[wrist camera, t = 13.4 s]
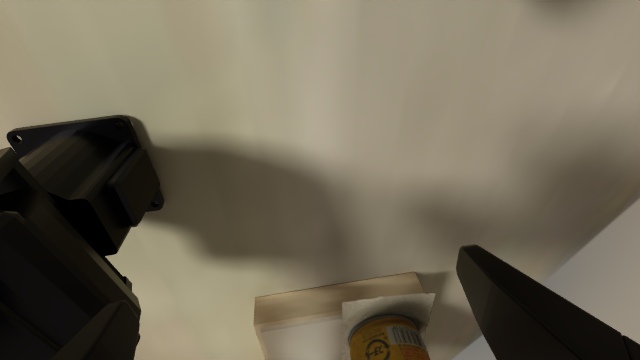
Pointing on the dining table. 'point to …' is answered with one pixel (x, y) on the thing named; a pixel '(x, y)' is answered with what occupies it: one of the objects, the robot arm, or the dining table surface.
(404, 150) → the dining table surface
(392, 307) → the condiment
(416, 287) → the picture frame
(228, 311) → the dining table surface
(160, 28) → the dining table surface
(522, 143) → the dining table surface
